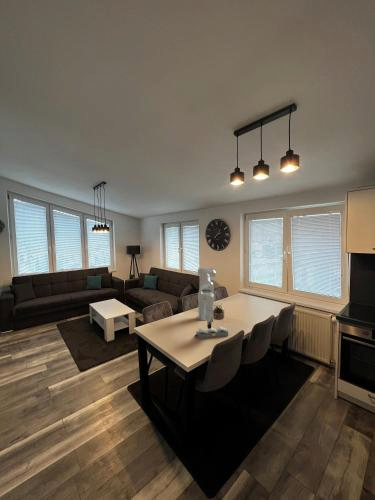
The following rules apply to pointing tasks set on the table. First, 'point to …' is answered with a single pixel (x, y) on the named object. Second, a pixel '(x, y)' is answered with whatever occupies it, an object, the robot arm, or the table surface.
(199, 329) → the rocker
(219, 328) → the rocker
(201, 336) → the power strip
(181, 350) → the table surface
